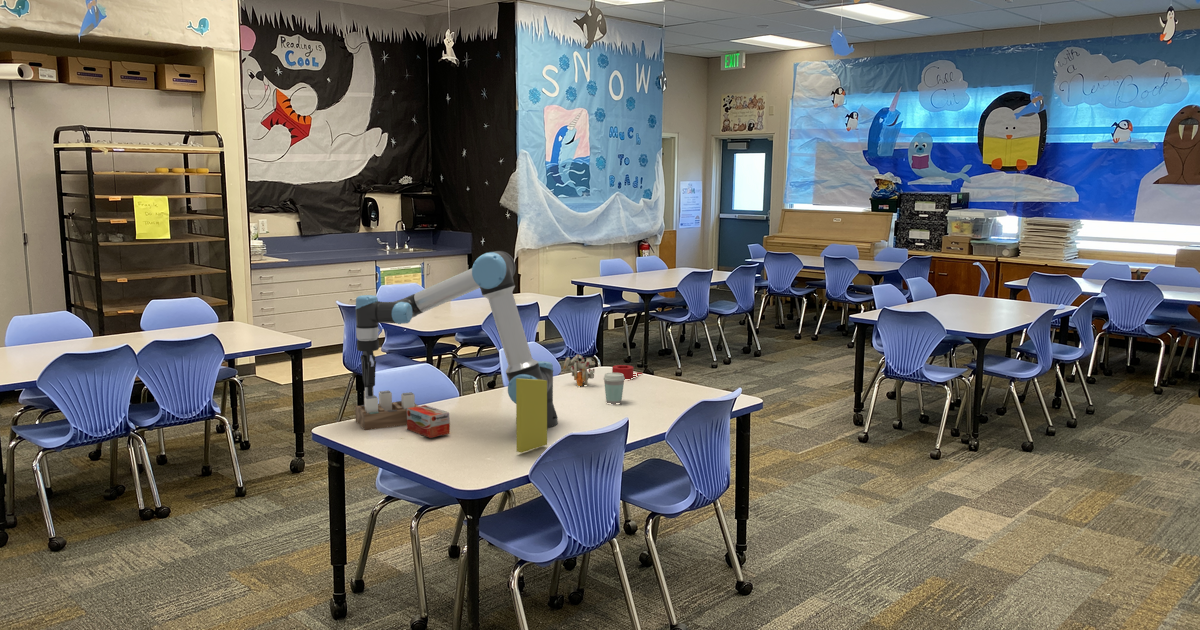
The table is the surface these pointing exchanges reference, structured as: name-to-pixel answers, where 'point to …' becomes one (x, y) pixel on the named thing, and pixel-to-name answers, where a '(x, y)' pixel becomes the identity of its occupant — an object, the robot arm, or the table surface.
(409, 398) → the tab
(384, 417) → the wooden slotted rack
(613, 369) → the red barrier tape roll
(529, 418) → the flat olive board
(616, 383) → the coffee cup
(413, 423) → the medicine box
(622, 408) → the table surface
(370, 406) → the tab
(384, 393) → the tab
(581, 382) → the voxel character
